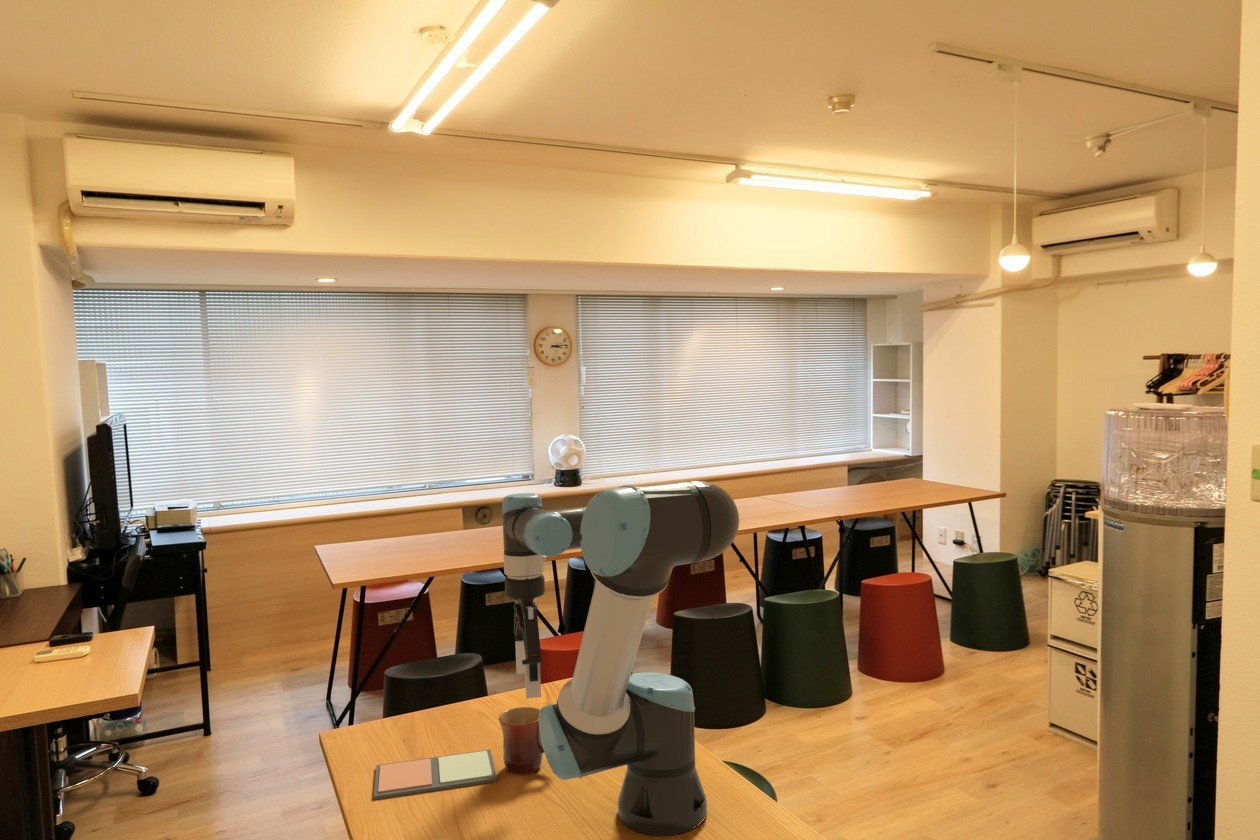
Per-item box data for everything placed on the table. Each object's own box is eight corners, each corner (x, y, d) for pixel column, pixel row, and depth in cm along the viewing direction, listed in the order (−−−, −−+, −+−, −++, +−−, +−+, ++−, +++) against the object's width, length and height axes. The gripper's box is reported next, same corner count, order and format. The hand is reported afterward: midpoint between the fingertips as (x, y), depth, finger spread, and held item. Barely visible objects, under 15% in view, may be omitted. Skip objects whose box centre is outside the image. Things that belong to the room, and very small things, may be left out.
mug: (495, 778, 158) (493, 724, 158) (506, 757, 167) (504, 706, 166) (558, 779, 157) (556, 725, 156) (566, 758, 166) (564, 707, 165)
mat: (496, 781, 157) (496, 776, 157) (373, 799, 151) (373, 794, 151) (490, 752, 169) (490, 748, 169) (376, 768, 164) (376, 763, 164)
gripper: (555, 587, 149) (559, 705, 150) (534, 560, 173) (537, 662, 174) (512, 591, 147) (517, 710, 148) (497, 563, 171) (501, 666, 172)
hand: (528, 684), depth 161 cm, fingers open, 13 cm apart
